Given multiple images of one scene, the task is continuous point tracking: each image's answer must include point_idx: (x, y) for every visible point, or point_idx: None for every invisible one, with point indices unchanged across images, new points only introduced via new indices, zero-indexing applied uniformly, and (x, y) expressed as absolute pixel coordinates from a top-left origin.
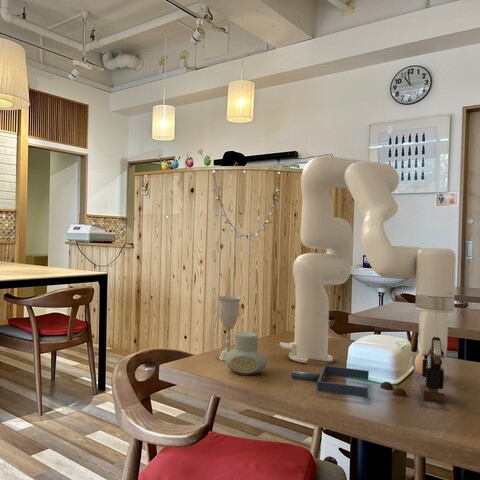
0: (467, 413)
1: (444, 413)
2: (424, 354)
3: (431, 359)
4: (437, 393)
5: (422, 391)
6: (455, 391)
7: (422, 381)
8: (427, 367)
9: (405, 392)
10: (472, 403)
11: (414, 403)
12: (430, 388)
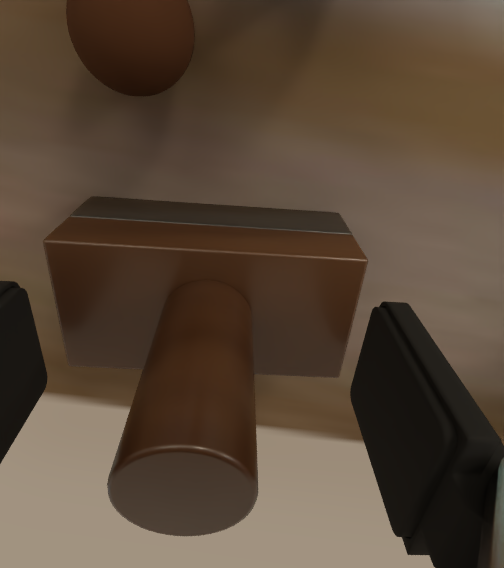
0: (117, 385)
1: (38, 292)
2: (491, 544)
3: (440, 524)
4: (64, 324)
5: (139, 233)
6: (495, 401)
7: (358, 274)
8: (153, 417)
9: (113, 85)
10: (301, 427)
11: (142, 149)
12: (155, 301)
